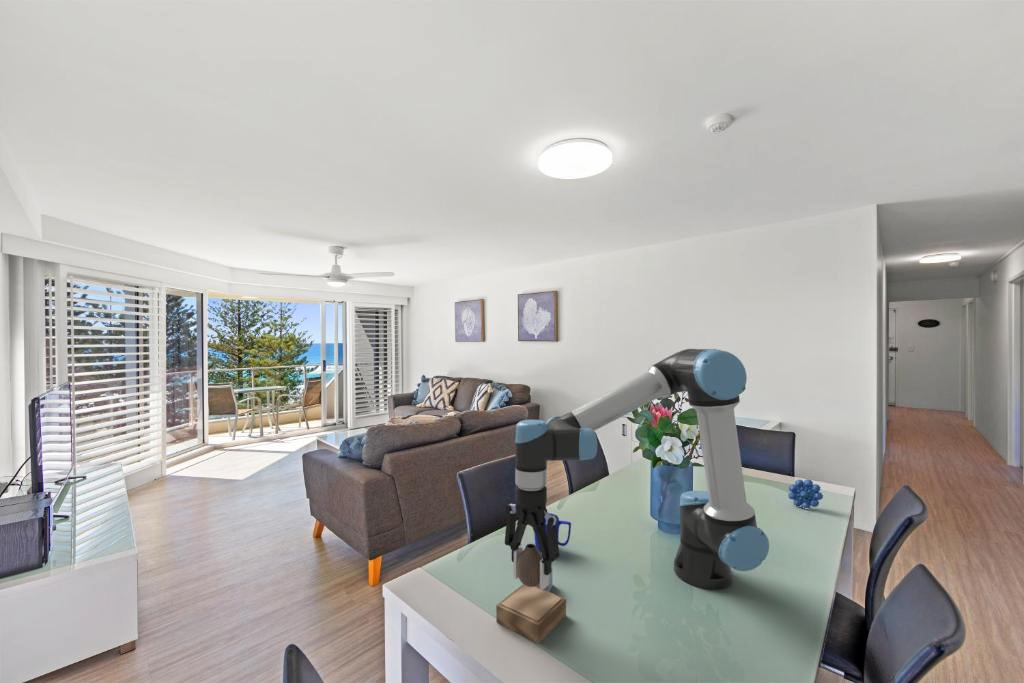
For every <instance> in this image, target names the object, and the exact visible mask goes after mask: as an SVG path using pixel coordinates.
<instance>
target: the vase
mask: <svg viewBox="0 0 1024 683" xmlns="http://www.w3.org/2000/svg"><path fill="white" fill-rule="evenodd" d="M542 559H543V558H542V555H541V552H540V551H538V549H537V547H536V545H535V543H528V544H526V545H525V548H523V552H522V553H521V554H520V556H519V558H518V561H517V574H518V579H519V581H520V583H522V585H523V584H524V585H525V586H528V587H535V586H537V585H539V584H540V561H541V560H542Z"/></svg>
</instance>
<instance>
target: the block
mask: <svg viewBox="0 0 1024 683" xmlns="http://www.w3.org/2000/svg"><path fill="white" fill-rule="evenodd" d="M553 585H554V584H553V570H552V571H551V573H550V574H549V585H548V586H547V587H546V588H544V589H543V590H545V591H548V592H550V593H551V590H552V587H553ZM536 587H538V588H540V584H539V585H537V586H536Z"/></svg>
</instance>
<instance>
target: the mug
mask: <svg viewBox="0 0 1024 683" xmlns="http://www.w3.org/2000/svg"><path fill="white" fill-rule="evenodd" d="M548 513H549V514H551V515H552V516H554V515H555V514H554V513H550V512H548ZM544 522H545V530H546V534H547V524H546V519H544ZM561 525H568V532H567V538H566V540H565V541H564V542H560V541H559V540H560V539H558V546H560V547H565V546H567V544H569V542H570V537H571V530H572V522H571V521H568V520H567V521H566V520H560V518H559V517H558V521H557V536H558V537H559V533H560V532H559V531H560V526H561ZM538 526H539V525H538ZM533 535H534V544H535V545H536V547H537V549H538V551H539V552H540V553H541V551H540V547H539V544H538V540H537V536H536V533H535V532H534V531H533Z"/></svg>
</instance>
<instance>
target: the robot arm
mask: <svg viewBox="0 0 1024 683" xmlns="http://www.w3.org/2000/svg"><path fill="white" fill-rule="evenodd" d="M747 378H748V377H747V372H746V368H745V365H744V364H743V362H742V361H741V360H740V358H739V357H738V356H736V355H735V354H733V353H731V352H729V351H726V350H721V349H716V348H686V349H683V350H680V351H677V352H674V353H673V354H672V355H669V356H668V357H665V358H663V359H662V360H660V361H658V362H656V363H654V364H652V365H650V366H649V367H648V371H647V372H644V373H643V374H641V375H639V376H637V377H635V378H633V379H631V380H629V381H627V382H626V383H623V384H622V385H620V386H618V387H616V388H614V389H612V390H610V391H608V392H606V393H604V394H603V395H600V396H598V397H596V398H594V399H592V400H591V401H589V402H587V403H585V404H583V405H581V406H579V407H577V408H575V409H574V410H571V411H570V412H568V413H566V414H563V415H562V416H561V415H559V416H558V415H555V416H551V417H550V418H549V419H547V421H544V420H542V419H523V420H520V421H518V423H516V426H515V439H514V441H515V444H514V445H515V446H514V447H515V448H514V449H515V471H514V472H515V474H514V475H515V476H514V477H515V481H514V482H515V485H516V486H515V497H514V499H515V502H516V503H514V502H512V503H510V504H508V505H506V506H505V511H506V525H505V536H504V544H505V546H509V547H510V550H511V562H512V563H513V579H515V580H517V579H519V577H518V574H517V561H518V558H519V556H520V554H521V553H522V552H523V551H524V548H523V547H521V546H522V544H521V543H522V541H523V538H524V534H525V531H526V528H527V526H530V527H532V529H533V533H534V532H535V533H536V536H537V540H538V544H539V547H540V551H541V552H540V551H539V552H540V553H541V555H542V558H543V559H542V560H541V561H540V589H541V590H543V589H544V588H546V587H547V586H548V585H549V574H550V573H551V571H552V572H553V566H552V563H553V562H555V561H556V560H557V559H559V558H560V550H559V549H560V548H559V545H558V540H559V536H557V521H558V518H559V517H558V515H556V514H554V516H552V515H551V514H552V513H551V514H549V513H550V512H548V510H547V501H548V497H547V496H548V493H547V492H548V491H547V490H548V489H547V488H548V487H547V486H546V485H547V481H548V478H547V476H548V475H547V470H548V469H547V468H548V467H547V466H548V465H547V464H548V462H550V461H552V462H553V461H581V462H582V461H584V460H585V461H586V460H587V461H588V460H593V459H594V458H595V457H596V456H597V453H598V438H597V433H596V432H595V431H597V430H599V429H601V428H603V427H605V426H607V425H608V424H609V425H610V423H612V422H614V421H616V420H619V419H620V418H623V417H624V416H626V415H627V414H630V413H632V412H634V411H635V410H638V409H639V408H642V407H643V406H645V405H647V404H649V403H651V402H652V401H655V400H656V399H659V398H661V397H665V398H669V397H670V396H672V395H674V394H678V393H682V392H687V398H688V404H689V406H690V407H691V408H693V409H694V410H695V411H696V417H697V424H698V425H697V426H698V432H699V439H700V447H701V452H702V453H701V454H702V459H703V468H704V474H705V476H704V477H705V482H706V489H707V490H689V491H685V492H683V493H682V494H680V499H679V500H680V501H679V525H680V526H679V528H680V529H679V530H680V531H679V532H680V534H679V536H680V537H679V538H680V539H679V540H680V541H679V542H680V544H679V546H678V548H677V551H676V554H675V557H674V561H673V571H674V574H675V575H676V576H677V577H678V578H679V579H681V580H682V581H684V582H685V583H687V584H689V585H692V586H694V587H698V588H702V589H708V590H721V589H725V588H727V587H730V585H732V582H733V572H732V570H734V571H735V570H736V571H738V572H749V571H753V570H755V569H756V568H758V567H759V566H760V565H762V563H763V561H765V560H766V558H767V556H768V555H769V550H770V541H769V538H768V536H767V534H766V533H765V532H764V530H763V529H761V528H760V527H758V525H757V519H756V512H755V511H756V510H755V508H754V507H753V506H752V505H751V504H750V503H748V501H747V496H746V488H745V482H744V481H745V480H744V474H743V467H742V466H743V465H742V459H741V451H740V445H739V436H738V430H737V422H736V421H737V420H736V416H735V415H736V414H735V408H736V407H737V406H738V404H740V402H741V400H740V395H741V394H742V393H743V391H744V390H743V389H744V388H746V385H747ZM517 514H518V518H517ZM517 519H518V520H517ZM544 519H546V524H547V534H546V530H545V522H544ZM516 525H517V526H516ZM538 525H539V526H538Z"/></svg>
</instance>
